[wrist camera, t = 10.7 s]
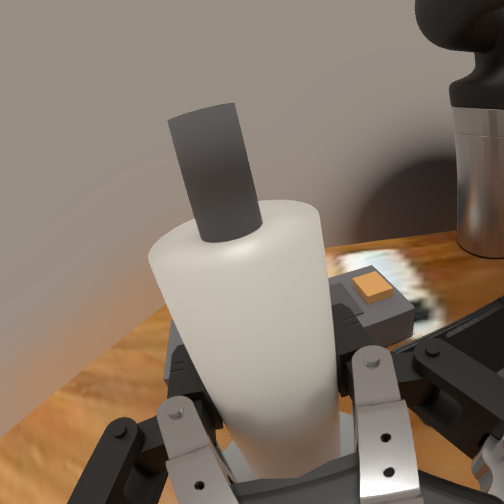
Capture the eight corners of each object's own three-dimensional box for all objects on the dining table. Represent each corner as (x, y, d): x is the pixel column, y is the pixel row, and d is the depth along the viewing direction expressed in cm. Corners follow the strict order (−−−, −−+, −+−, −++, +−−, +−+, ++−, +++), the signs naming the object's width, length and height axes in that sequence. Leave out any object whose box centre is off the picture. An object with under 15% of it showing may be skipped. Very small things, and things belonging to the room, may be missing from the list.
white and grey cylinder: (328, 431, 16) (273, 100, 9) (350, 491, 11) (322, 80, 5) (255, 450, 15) (134, 136, 9) (267, 513, 11) (77, 145, 5)
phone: (558, 335, 15) (431, 426, 14) (554, 345, 15) (428, 434, 15) (506, 292, 22) (382, 351, 21) (504, 301, 22) (382, 361, 22)
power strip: (372, 290, 30) (371, 257, 29) (412, 335, 23) (415, 299, 21) (182, 342, 30) (168, 312, 28) (178, 403, 22) (159, 372, 21)
